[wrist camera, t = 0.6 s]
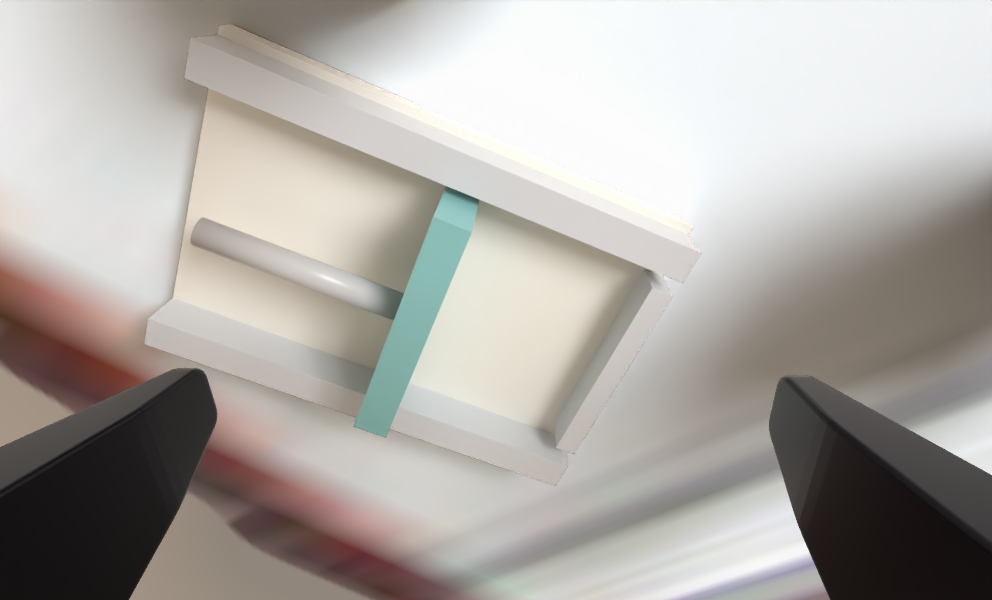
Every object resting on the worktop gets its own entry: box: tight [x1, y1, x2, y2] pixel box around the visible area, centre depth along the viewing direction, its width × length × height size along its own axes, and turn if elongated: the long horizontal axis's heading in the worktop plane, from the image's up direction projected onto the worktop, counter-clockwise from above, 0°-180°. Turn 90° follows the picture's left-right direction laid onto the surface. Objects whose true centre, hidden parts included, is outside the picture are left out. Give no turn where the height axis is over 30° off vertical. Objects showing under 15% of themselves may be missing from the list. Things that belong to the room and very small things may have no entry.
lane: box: [144, 24, 701, 486], centre depth 22 cm, size 17×12×2 cm
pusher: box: [190, 186, 479, 438], centre depth 20 cm, size 8×8×4 cm
